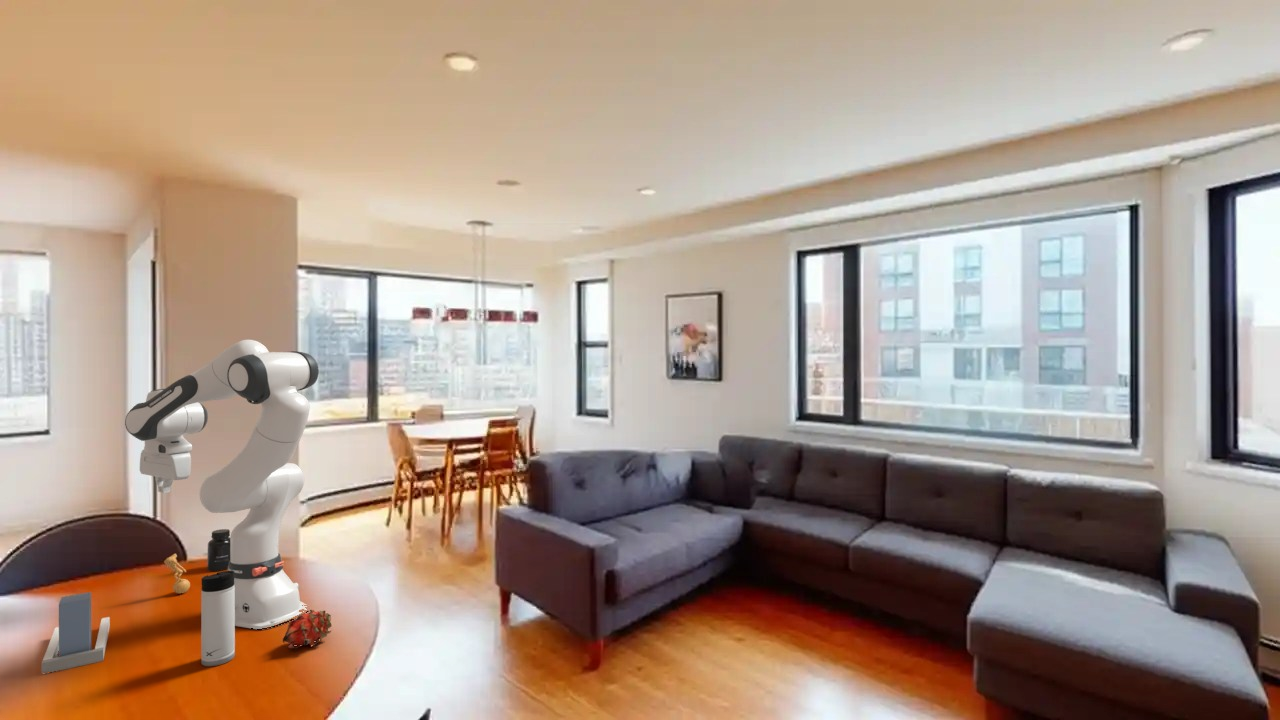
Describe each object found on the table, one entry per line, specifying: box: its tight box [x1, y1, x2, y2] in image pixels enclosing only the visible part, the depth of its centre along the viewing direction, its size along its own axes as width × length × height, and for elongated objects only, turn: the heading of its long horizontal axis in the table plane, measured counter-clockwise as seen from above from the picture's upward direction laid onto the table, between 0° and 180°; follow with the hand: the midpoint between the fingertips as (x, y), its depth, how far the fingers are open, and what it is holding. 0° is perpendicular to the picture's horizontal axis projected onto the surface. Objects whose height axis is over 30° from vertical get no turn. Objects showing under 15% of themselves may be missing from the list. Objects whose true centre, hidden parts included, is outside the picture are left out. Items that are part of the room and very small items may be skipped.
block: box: [58, 591, 92, 657], centre depth 139 cm, size 5×5×14 cm
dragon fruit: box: [282, 608, 332, 649], centre depth 147 cm, size 8×8×12 cm
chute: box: [41, 616, 111, 675], centre depth 144 cm, size 22×10×2 cm, turn 38°
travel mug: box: [200, 570, 236, 667], centre depth 139 cm, size 6×7×20 cm
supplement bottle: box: [206, 528, 231, 572], centre depth 198 cm, size 7×7×12 cm
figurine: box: [163, 553, 191, 595], centre depth 176 cm, size 8×6×12 cm
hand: (164, 492), depth 177 cm, fingers closed
